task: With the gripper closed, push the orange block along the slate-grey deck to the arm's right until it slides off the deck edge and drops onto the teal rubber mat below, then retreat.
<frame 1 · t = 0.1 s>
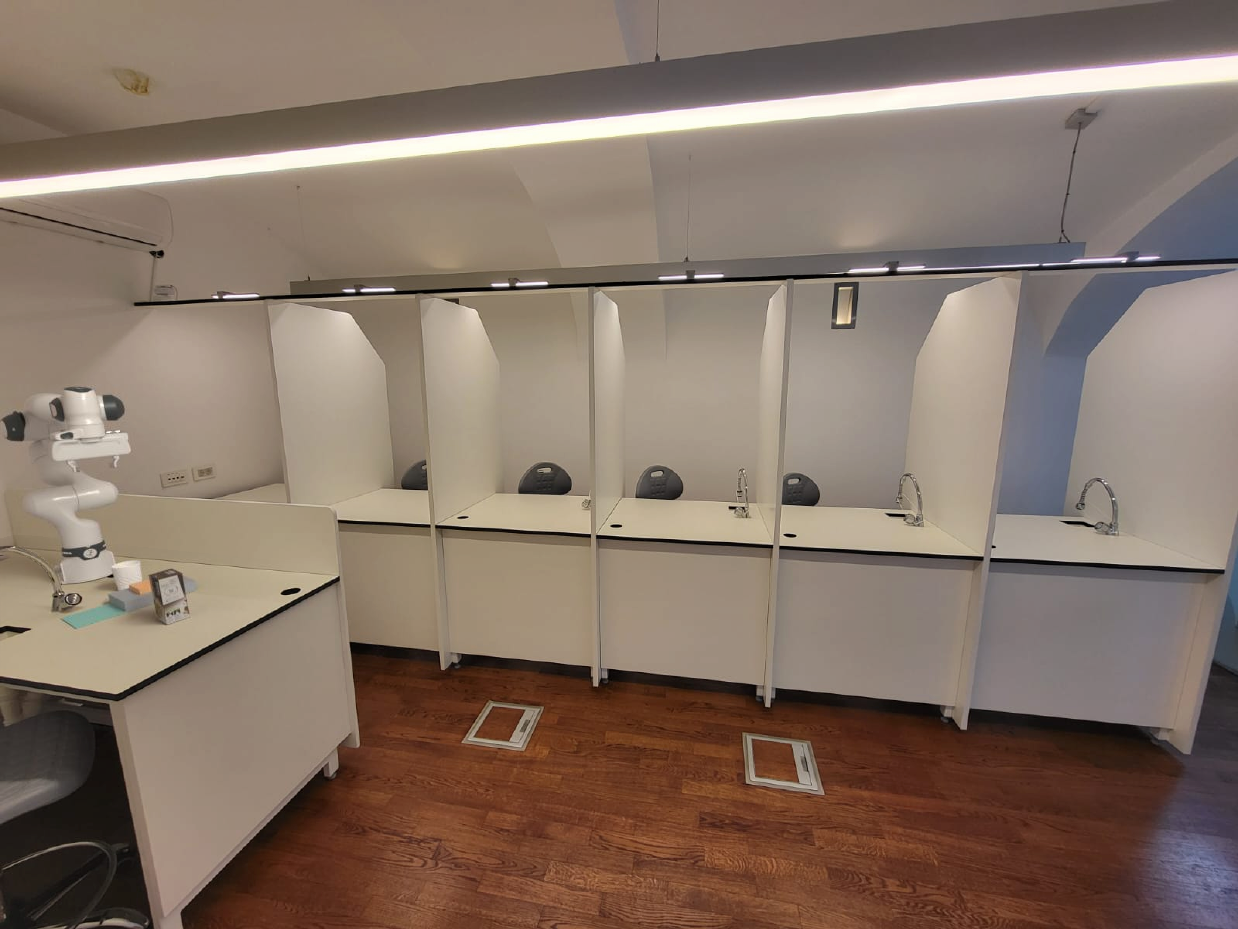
hand: (95, 469, 173), 48 cm above the worktop, fingers open, 8 cm apart
white cup: (130, 588, 185), on the worktop
coffee box: (173, 618, 162), on the worktop
mat: (94, 615, 163), on the worktop
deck: (154, 596, 177), on the worktop
orange block: (145, 589, 175), point 4 cm above the worktop, touching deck
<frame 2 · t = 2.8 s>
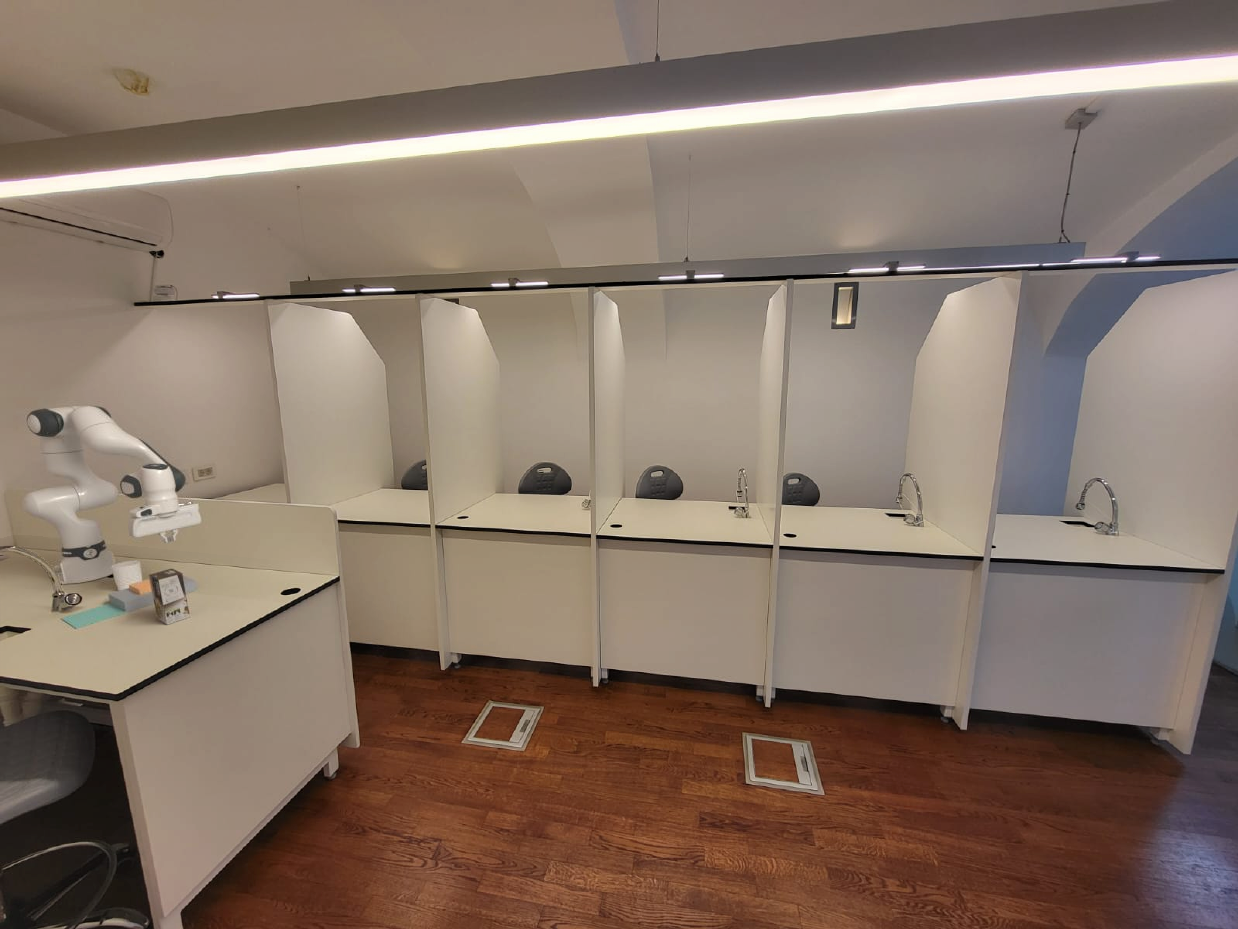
hand: (169, 541, 180), 20 cm above the worktop, fingers closed
nothing on the worktop moved.
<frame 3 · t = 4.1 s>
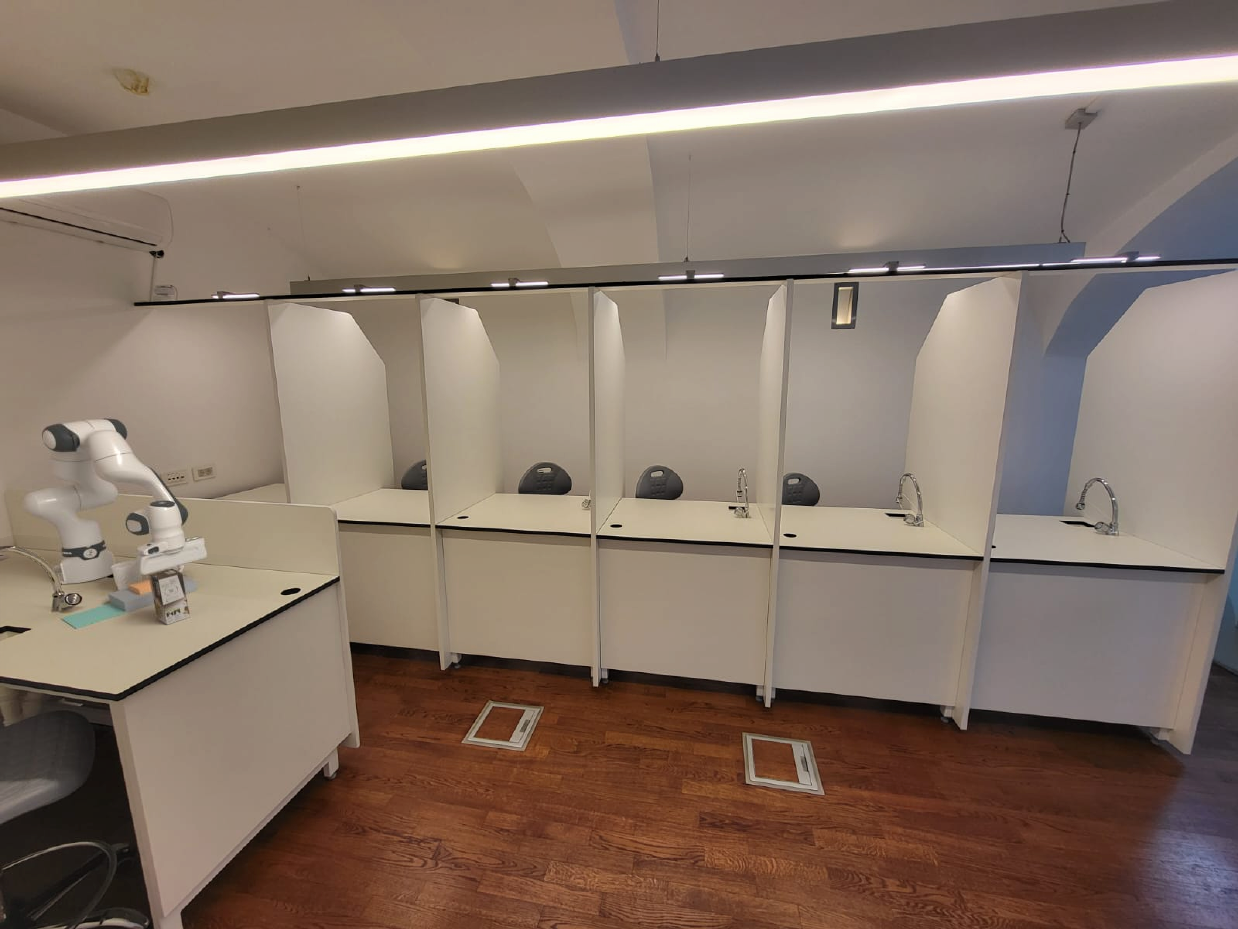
hand: (176, 576, 182), 5 cm above the worktop, fingers closed
nothing on the worktop moved.
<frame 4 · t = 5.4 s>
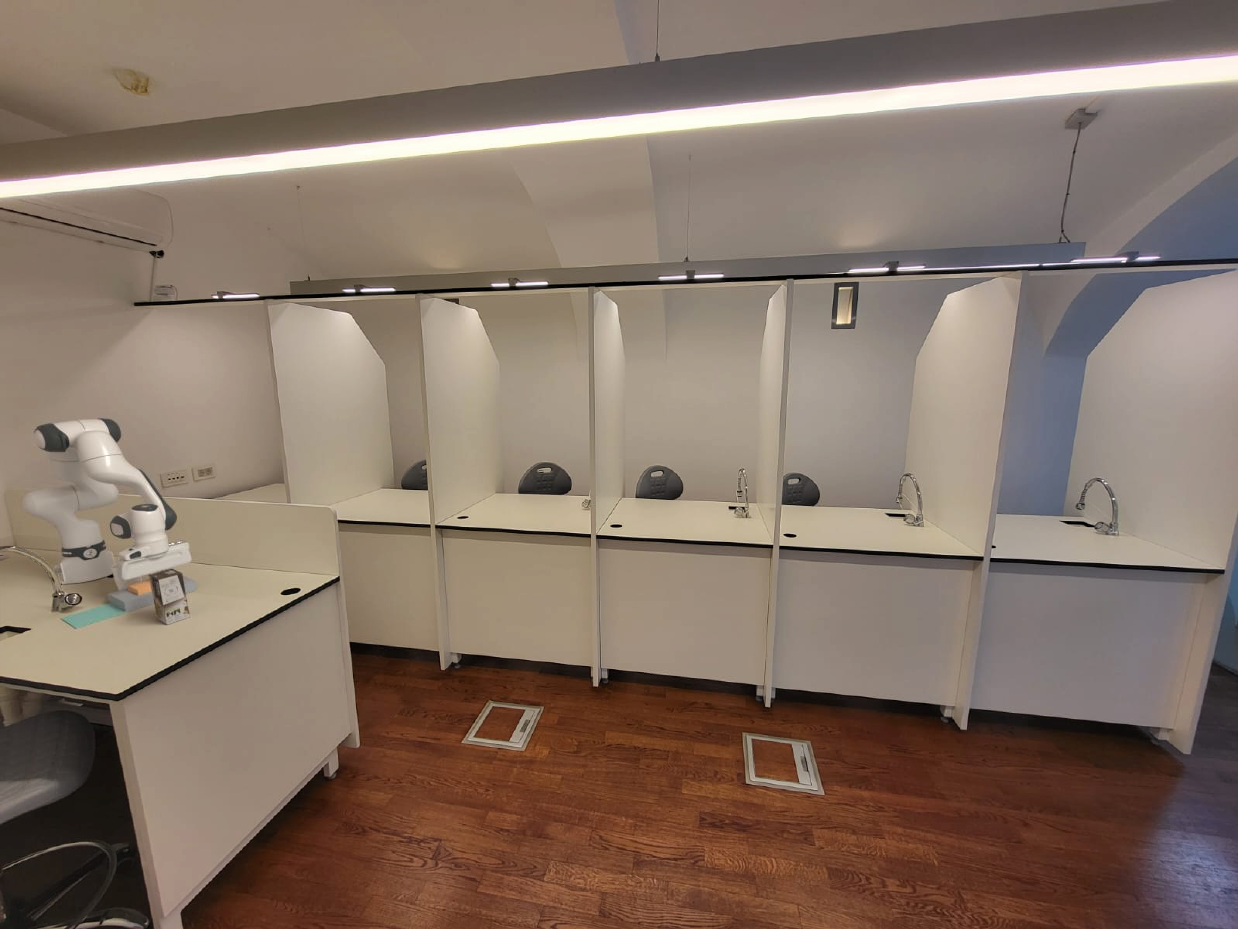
hand: (159, 582, 178), 5 cm above the worktop, fingers closed
orange block: (144, 589, 175), point 4 cm above the worktop, touching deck, gripper
everything else where it was.
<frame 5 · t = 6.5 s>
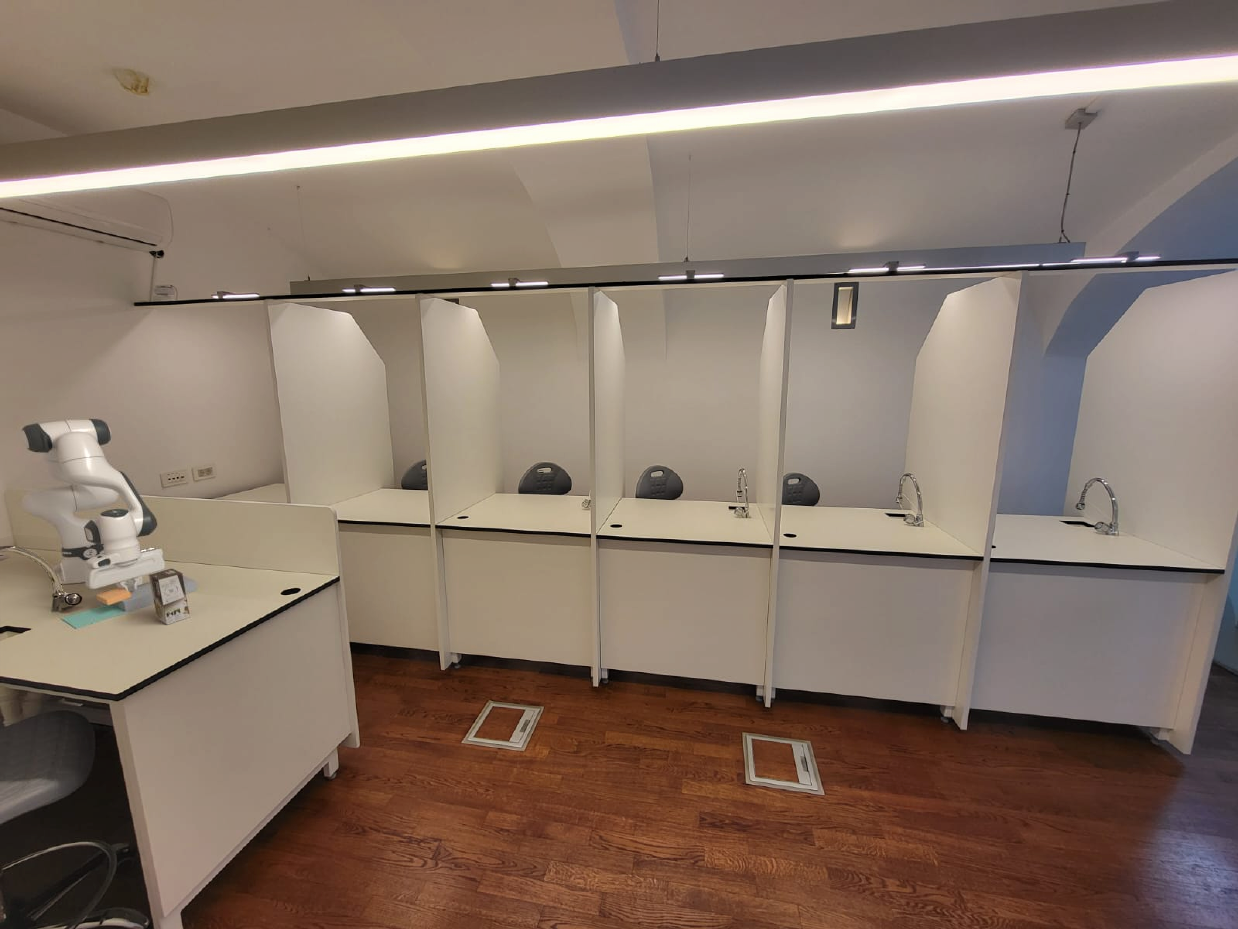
hand: (130, 590, 171), 5 cm above the worktop, fingers closed
orange block: (114, 598, 168), point 4 cm above the worktop, touching gripper
everything else where it was.
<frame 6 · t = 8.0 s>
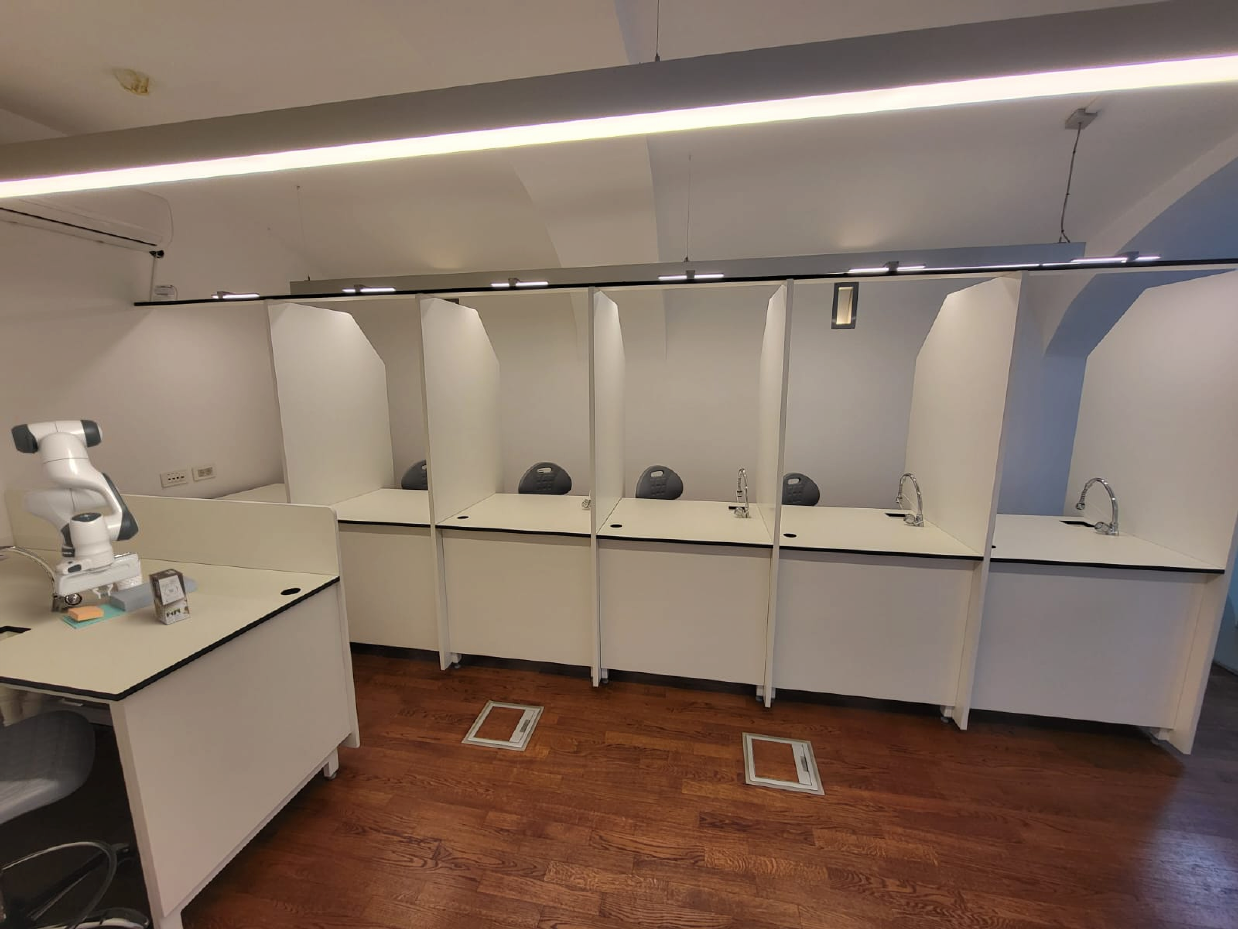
hand: (104, 597, 165), 6 cm above the worktop, fingers closed
orange block: (86, 610, 161), point 3 cm above the worktop, tilted 167°
everything else where it was.
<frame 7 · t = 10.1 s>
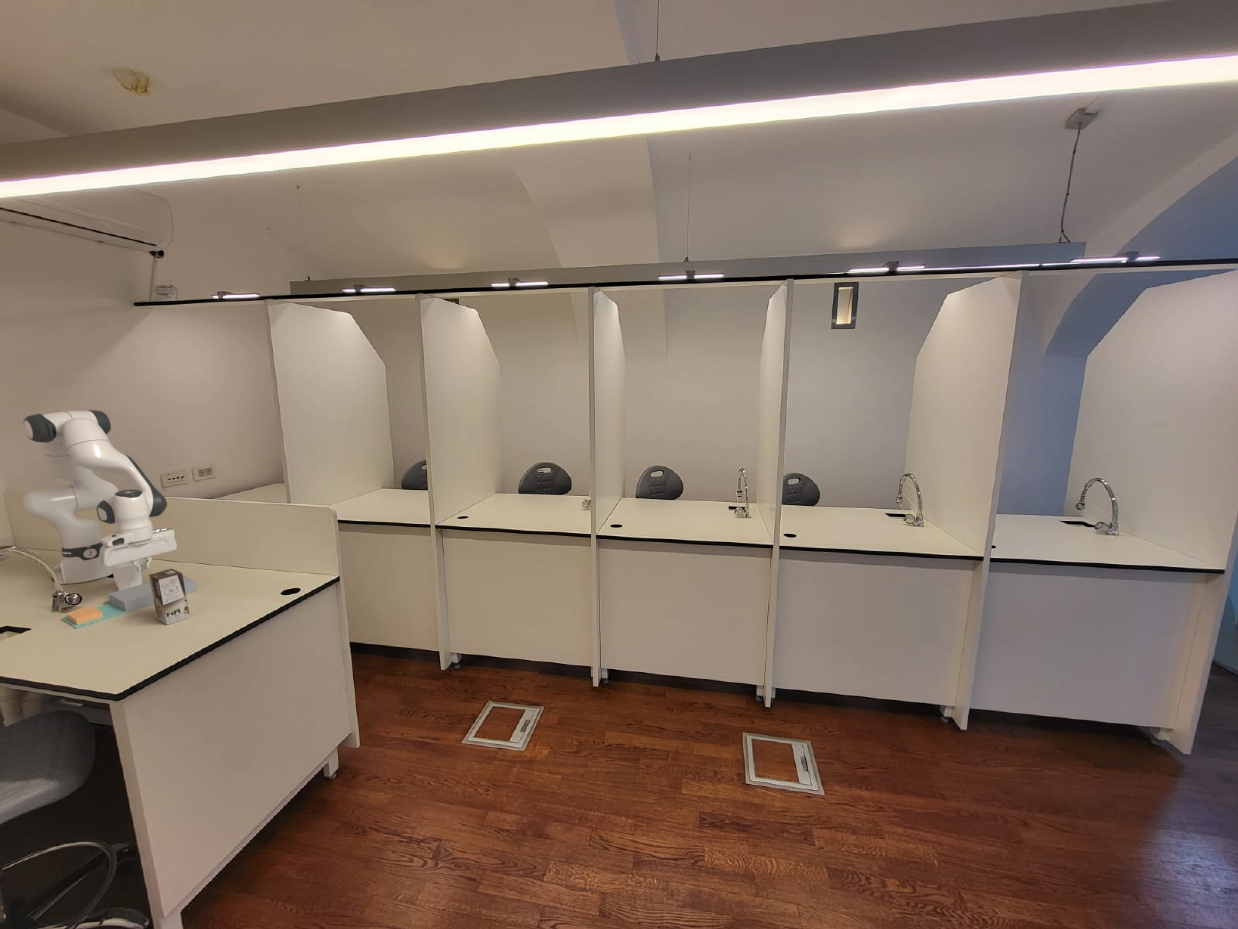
hand: (143, 569, 175), 11 cm above the worktop, fingers closed
orange block: (84, 612, 161), point 2 cm above the worktop, tilted 180°, touching mat
everything else where it was.
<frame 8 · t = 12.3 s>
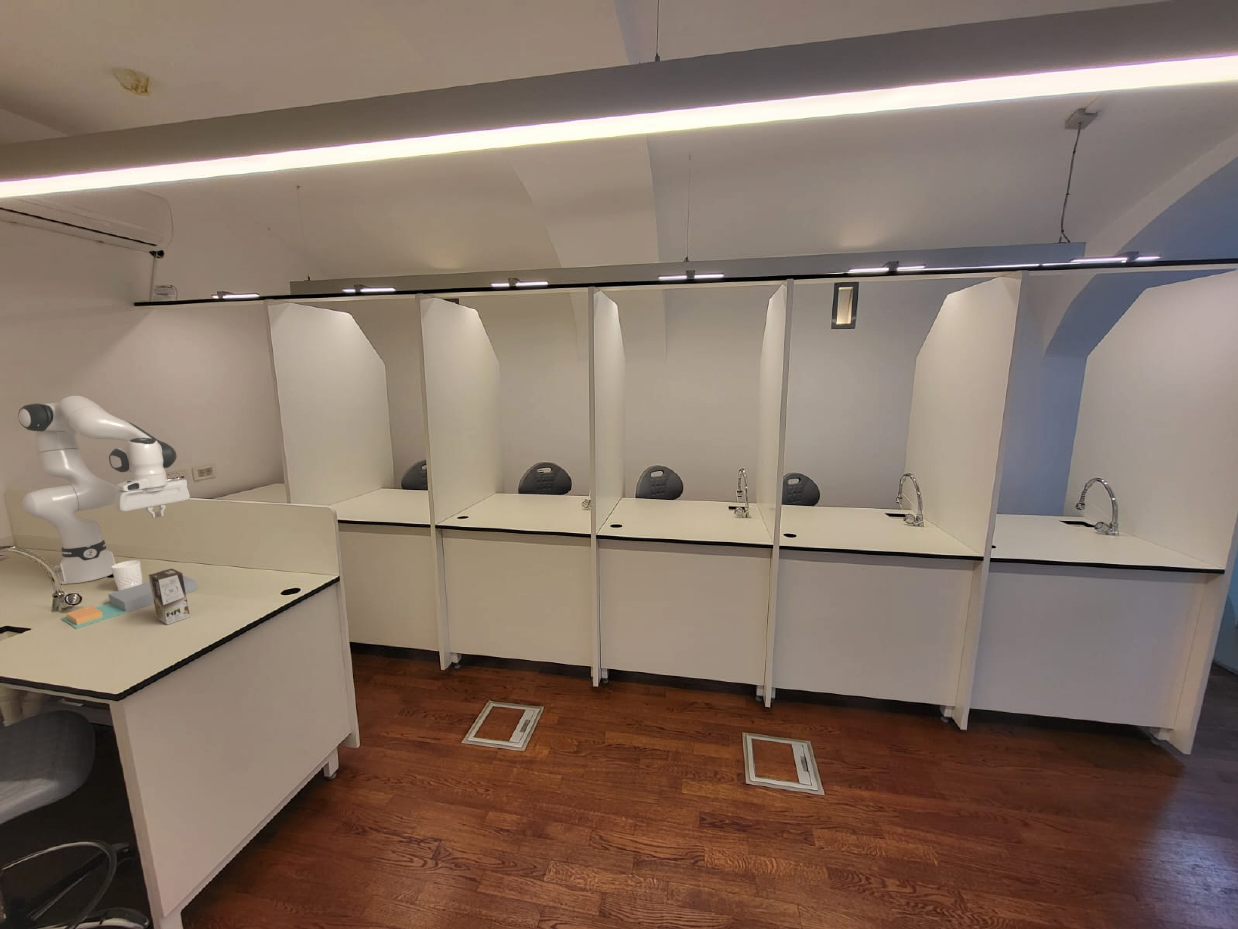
hand: (157, 517, 179), 29 cm above the worktop, fingers closed
nothing on the worktop moved.
at the end: orange block point 2.3 cm above the worktop; orange block inside the target area on the mat (1.9 cm from its centre), point 2.3 cm above the mat's base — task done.
